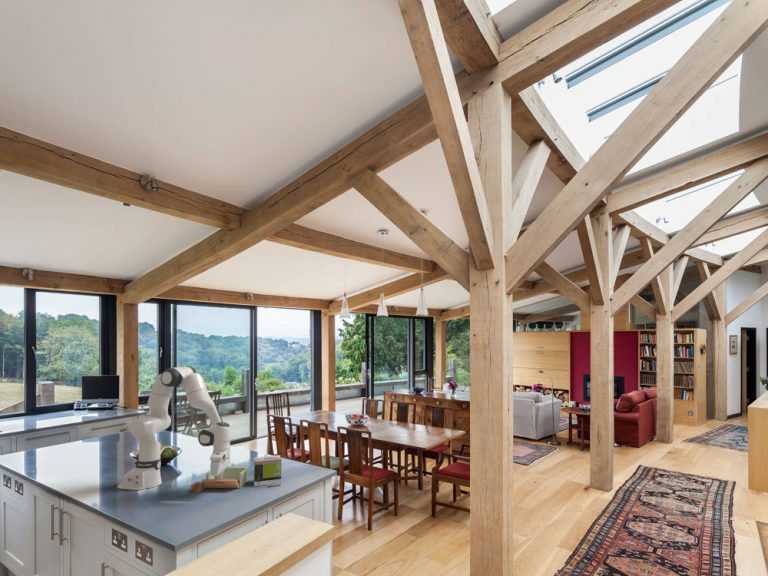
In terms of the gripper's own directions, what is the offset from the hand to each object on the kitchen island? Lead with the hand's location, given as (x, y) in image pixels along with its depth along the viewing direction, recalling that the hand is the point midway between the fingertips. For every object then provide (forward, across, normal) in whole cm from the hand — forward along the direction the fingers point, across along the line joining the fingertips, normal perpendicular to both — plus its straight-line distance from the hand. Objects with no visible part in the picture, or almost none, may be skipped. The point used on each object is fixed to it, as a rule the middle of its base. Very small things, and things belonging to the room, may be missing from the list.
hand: (220, 479), depth 240 cm
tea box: (+7, -13, +23) cm, 27 cm away
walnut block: (+7, +1, -12) cm, 14 cm away
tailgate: (+6, -4, 0) cm, 7 cm away
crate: (+7, -11, 0) cm, 13 cm away
